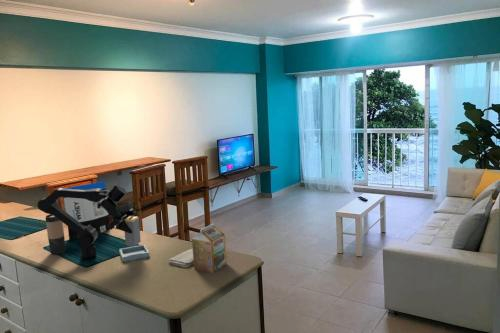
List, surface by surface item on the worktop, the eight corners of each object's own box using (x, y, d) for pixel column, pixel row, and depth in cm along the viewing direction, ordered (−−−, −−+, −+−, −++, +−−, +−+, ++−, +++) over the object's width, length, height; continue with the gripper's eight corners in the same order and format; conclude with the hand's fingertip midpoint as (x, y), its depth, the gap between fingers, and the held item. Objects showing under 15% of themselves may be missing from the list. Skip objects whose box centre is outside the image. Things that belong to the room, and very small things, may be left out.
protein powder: (113, 230, 248) (108, 182, 243) (72, 241, 232) (65, 189, 227) (107, 227, 255) (101, 180, 250) (66, 238, 239) (59, 187, 234)
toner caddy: (125, 245, 202) (123, 218, 200) (131, 241, 208) (129, 215, 205) (135, 245, 201) (132, 218, 199) (140, 241, 207) (138, 215, 204)
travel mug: (69, 250, 218) (64, 213, 214) (57, 255, 211) (52, 218, 208) (59, 248, 221) (54, 212, 218) (47, 254, 214) (41, 217, 211)
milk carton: (212, 272, 181) (210, 231, 178) (194, 268, 186) (191, 228, 183) (226, 264, 190) (224, 224, 187) (208, 260, 195) (205, 221, 192)
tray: (123, 262, 198) (122, 257, 197) (119, 253, 209) (119, 249, 209) (149, 257, 203) (149, 252, 202) (145, 249, 214) (144, 244, 214)
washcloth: (167, 265, 193) (166, 258, 193) (191, 252, 208) (191, 246, 208) (186, 269, 187) (186, 263, 186) (210, 255, 202) (210, 249, 202)
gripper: (112, 202, 192) (135, 225, 192) (131, 193, 210) (152, 214, 210) (98, 218, 195) (121, 241, 195) (118, 207, 213) (139, 228, 213)
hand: (134, 230), depth 203 cm, fingers closed on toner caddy, 6 cm apart
